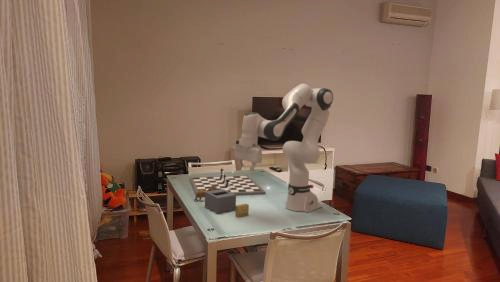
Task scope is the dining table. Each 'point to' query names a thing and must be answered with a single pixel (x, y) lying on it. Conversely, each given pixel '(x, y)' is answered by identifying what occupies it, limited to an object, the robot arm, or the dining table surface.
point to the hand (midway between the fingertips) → (246, 168)
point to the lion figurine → (204, 193)
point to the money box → (220, 201)
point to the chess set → (227, 184)
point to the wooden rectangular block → (242, 210)
